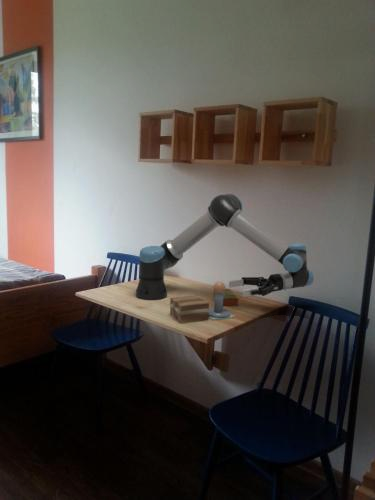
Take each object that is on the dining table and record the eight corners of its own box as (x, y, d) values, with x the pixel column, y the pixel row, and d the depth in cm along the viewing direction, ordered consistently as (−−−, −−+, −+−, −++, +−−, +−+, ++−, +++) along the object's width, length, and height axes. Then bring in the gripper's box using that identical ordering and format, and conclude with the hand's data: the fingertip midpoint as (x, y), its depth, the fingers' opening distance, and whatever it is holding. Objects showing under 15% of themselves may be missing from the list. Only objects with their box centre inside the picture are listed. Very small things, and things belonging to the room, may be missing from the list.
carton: (230, 297, 206) (230, 288, 205) (238, 307, 190) (238, 297, 190) (213, 297, 205) (213, 288, 204) (220, 307, 189) (220, 298, 189)
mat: (202, 312, 179) (202, 312, 179) (222, 310, 183) (223, 309, 183) (212, 320, 170) (212, 319, 170) (234, 317, 174) (234, 316, 174)
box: (169, 314, 177) (170, 297, 176) (196, 311, 182) (196, 295, 180) (180, 323, 166) (181, 306, 165) (208, 320, 171) (209, 303, 169)
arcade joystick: (202, 311, 179) (203, 280, 177) (223, 309, 183) (224, 278, 181) (212, 319, 170) (214, 285, 168) (234, 316, 174) (236, 283, 172)
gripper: (295, 298, 175) (249, 306, 169) (266, 282, 199) (224, 288, 192) (295, 281, 174) (248, 288, 167) (266, 266, 197) (224, 273, 191)
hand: (235, 288), depth 180 cm, fingers open, 13 cm apart
